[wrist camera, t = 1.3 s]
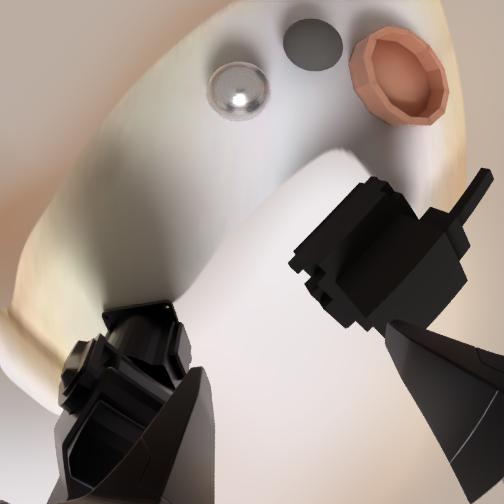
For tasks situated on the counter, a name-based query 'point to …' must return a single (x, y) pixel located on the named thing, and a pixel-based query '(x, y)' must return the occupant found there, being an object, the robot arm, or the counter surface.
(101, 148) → the counter surface
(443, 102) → the dish
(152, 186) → the counter surface
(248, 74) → the steel ball
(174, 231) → the counter surface
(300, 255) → the toy
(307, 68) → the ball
